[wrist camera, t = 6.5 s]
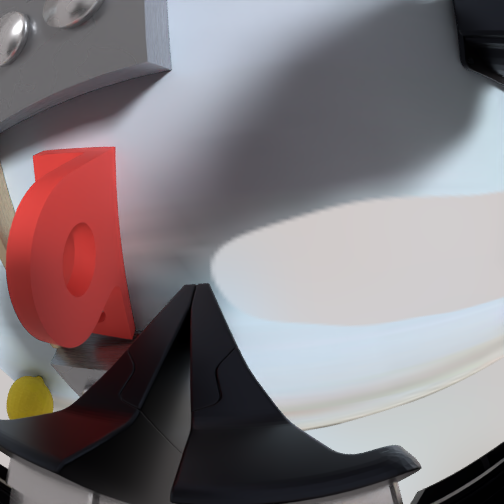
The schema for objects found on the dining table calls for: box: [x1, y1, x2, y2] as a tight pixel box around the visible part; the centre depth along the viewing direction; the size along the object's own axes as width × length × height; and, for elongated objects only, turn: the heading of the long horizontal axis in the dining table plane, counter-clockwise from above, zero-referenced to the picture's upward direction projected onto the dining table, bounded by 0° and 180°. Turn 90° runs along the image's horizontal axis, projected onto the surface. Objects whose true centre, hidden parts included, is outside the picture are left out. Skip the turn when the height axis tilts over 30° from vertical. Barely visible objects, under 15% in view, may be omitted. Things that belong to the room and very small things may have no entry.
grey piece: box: [0, 0, 172, 397], centre depth 12 cm, size 12×29×4 cm, turn 4°
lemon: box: [7, 376, 53, 420], centre depth 19 cm, size 6×6×8 cm
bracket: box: [6, 147, 136, 348], centre depth 11 cm, size 12×4×8 cm, turn 172°
